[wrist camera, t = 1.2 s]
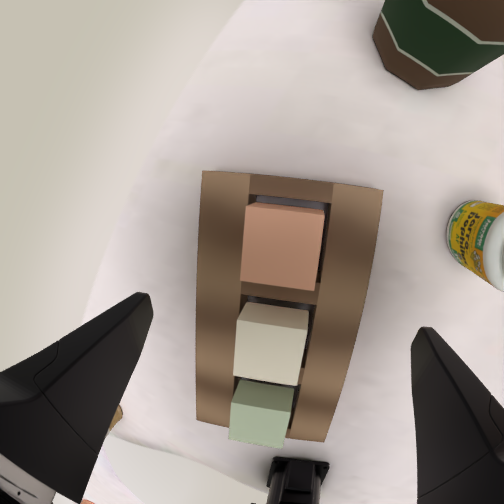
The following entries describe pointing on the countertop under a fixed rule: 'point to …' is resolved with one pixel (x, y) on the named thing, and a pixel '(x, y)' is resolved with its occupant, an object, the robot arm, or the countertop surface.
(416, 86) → the beer bottle
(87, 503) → the pepper shaker
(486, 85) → the countertop surface
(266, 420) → the sage key
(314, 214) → the terracotta key
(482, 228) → the supplement bottle
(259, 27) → the countertop surface
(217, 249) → the wooden tray
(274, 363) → the cream key
